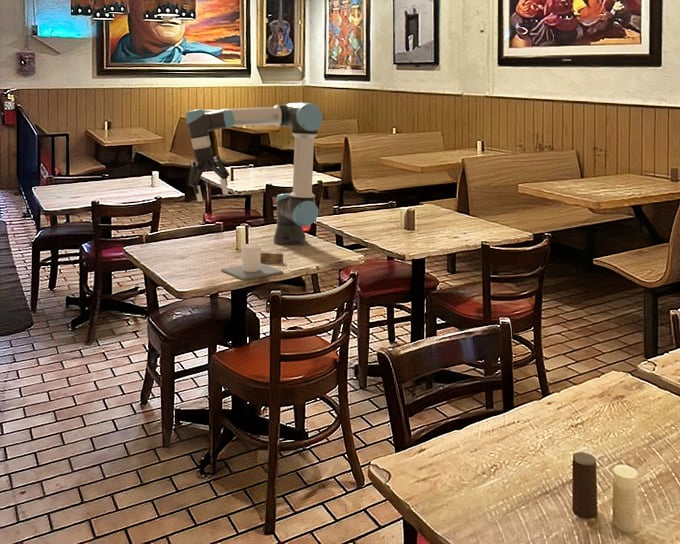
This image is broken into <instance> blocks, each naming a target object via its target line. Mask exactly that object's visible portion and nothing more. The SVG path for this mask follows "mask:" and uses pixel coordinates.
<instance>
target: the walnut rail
mask: <svg viewBox="0 0 680 544" xmlns="http://www.w3.org/2000/svg"><path fill="white" fill-rule="evenodd" d="M260 260H261V261H260V263H266V262H270V263H271V264H279V265H281V264H283V263H284V253H282V252H268V251H261V259H260ZM270 263H269V264H270Z"/></svg>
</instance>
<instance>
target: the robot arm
mask: <svg viewBox="0 0 680 544" xmlns="http://www.w3.org/2000/svg"><path fill="white" fill-rule="evenodd" d="M185 118H186V125H187V128H188V132H189V136H190V141H191V146H192V149H194V150H193V155H194V158H195V160H196V161H191V162H190V163H189V165H190V169H189V176H188V181H187V185H188V186H191V187H192V188H193V193H194V194H195V196H196V200H197V202H203V201H204V200H203V195H202V191H201V190H202V189H201V185H199V183H200V180H201V177H202V175H203V172H204V171H207V170H212V171H213V172H214V173H215V174H216V175H217V176H218V177H219V178H220V179H219V181H220V186H221V190H222V195H229V191H228V178H229V177H230V172H229V171H228V170H227V168H226V167H225V164H223V162H222V160H221V157H220V155H216V156H213V155H214V154H213V149H212V146H211V145H212V144H211V139H210V135H209V132H212V131H216V130H223V129H229V128H233V127H244V126H248V127H249V126H264V125H265V126H266V125H268V126H269V125H274V126H275V127H286V128H287V127H288V128H291V134H292V136H293V137H294V145H293V146H294V148H293V149H294V153H293V177H292V191H291V192H288V193H280V194H277V195H276V201H275V203H276V228H275V232H274V236H273V243H275V244H276V245H286V246H290V245H301V244H304V243H306V242H307V239H306V238H307V237H306V234H305V231H304V228H303V227H307V226H311V225H312V224H313V223H314V222H316V220H317V219H318V216H319V208H318V205H317V204H316V203H315V202H316V196H315V194H314V193H313V192H312V191H313V169H314V149H315V148H314V147H315V138H316V137H317V136H318V135H319V134H318V133H319V128H320V127H321V125H322V123H323V113H322V111H321V109H320V108H319V106H317V105H316V104H314V103H311V102H299V101H298V102H297V101H295V102H294V101H293V102H289V103H282V104H275V105H274V106H271V107H270V106H269V107H268V106H267V107H243V108H240V107H239V108H220V109H217V108H215V109H212V108H211V109H210V108H206V109H202V108H200V109H199V108H198V109H193V110H189V111H188V110H187V112H186V113H185Z"/></svg>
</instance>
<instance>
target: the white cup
mask: <svg viewBox="0 0 680 544" xmlns="http://www.w3.org/2000/svg"><path fill="white" fill-rule="evenodd" d="M261 249H262V247H261V244H259V243H246V244H245V243H244V244H242V245H240V250H241V251H240V252H241V254H240V255H241V263H242V265H243V270H244V271H246V272H256V271H259V270H260V263H261V262H260V261H261V260H260V259H261V252H262V251H261Z"/></svg>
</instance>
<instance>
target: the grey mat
mask: <svg viewBox="0 0 680 544" xmlns="http://www.w3.org/2000/svg"><path fill="white" fill-rule="evenodd" d="M223 271H224V272H223ZM221 272H223V273H225V272H226V273H225V274H227V273H228V274H227V275H230V276H232V277H235V278H237V279H239V280H242V281H246V280H252V279H253V280H254V279H258V278H264V277H269V276H274V275H280V274H283V273H284V270H281V269H277V268H276V267H272V266H270V265H267V264H264V263H263V262H260V270H259V271H256V272H246V271H244V270H243V264H242V265H236V266H232V267H224V268H221Z"/></svg>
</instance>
